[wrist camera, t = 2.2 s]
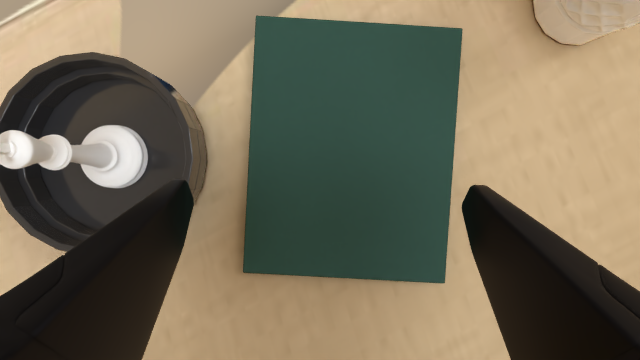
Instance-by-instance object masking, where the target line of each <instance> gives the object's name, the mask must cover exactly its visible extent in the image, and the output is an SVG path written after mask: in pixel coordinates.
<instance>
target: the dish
mask: <svg viewBox="0 0 640 360" xmlns="http://www.w3.org/2000/svg"><path fill="white" fill-rule="evenodd" d="M105 125H120V126H125V127H127V128H130V129H132V130H133V131H135V132H136V133H137V134H138V135H139V136H140V137H141V138H142V140H143V141H144V143H145V145H146V148H147V153H148V162H147V166H146V169H145V171H144V173H143V175H142V176H141V177H140V178H139V180H137V181H136V182H135V183H133V184H132V185H130V186H127V187H124V188H109V187H103V186H100V185H98V184H96V183H94V182H93V181H91V180H90V179H89V178H88V177H87V176H86V174H85V173H84V171H83V169H82V167H81V164H79V163H74V162H70V163H69V164H68V165H67V166H66V167H64V168H63V169H60V170H49V169H47V168H44V167H42V166H41V165H39V164H38V163H35V164H32V165H30V166H27V167H24V168H20V169H10V168H7V167H4V166H3V165H0V198H1V200H2V202H3V204H4V206H5V208H6V210H7V211H8V213H9V214H10V215H11V216H12V217H13V218H14V219H15V220H16V221H17V222H18V223H19V224H20V225H21V226H22V227H23V228H24V229H25V230H26V231H27V232H28V233H29V234H30V235H31V236H33V237H35V238H37V239H39V240H41V241H43V242H44V243H46V244H48V245H50V246H52V247H54V248H55V249H58V250H62V251H67V252H68V251H69V250H71V249H72V248H74V247H75V246H76V245H78V244H79V243H81V242H82V241H84V240H85V239H87V238H88V237H89V236H91V235H92V234H94V233H95V232H97V231H98V230H99V229H101V228H102V227H104V226H105V225H107V224H108V223H110V222H111V221H112V220H114V219H115V218H117V217H118V216H120V215H121V214H122V213H124V212H125V211H127V210H128V209H130V208H131V207H133V206H134V205H135V204H137V203H138V202H140V201H141V200H143V199H144V198H145V197H147V196H148V195H150V194H151V193H153V192H154V191H155V190H157V189H158V188H160V187H161V186H163V185H164V184H166V183H167V182H168V181H170V180H172V179H185V180H186V181H187V182H188V184H189V187H190V190H191V193H192V196H193V199H194V201H195V199H196V198H197V196H198V194H199V192H200V190H201V188H202V185H203V180H204V174H205V169H206V164H207V157H206V149H205V142H204V134H203V130H202V128H201V126H200V124H199V122H198V120H197V118H196V116H195V113H194V111H193V109H192V107H191V106H190V105H189V104H188V103H187V102H186V100H185V99H184V98H183V97H182V96H181V95H180V94H179V93H178V92H177V91H176V90H175V89H174V88H173V86H171V85H170V84H168V83H167V82H165V81H163V80H162V79H160V78H158V77H157V76H155V75H153V74H151V73H150V72H148V71H146V70H144V69H143V68H141V67H139V66H137V65H135V64H133V63H132V62H130V61H128V60H127V59H124V58H119V57H114V56H110V55H105V54H100V53H95V52H90V53H81V54H73V55H64V56H59V57H57V58H55V59H53V60H50V61H48V62H46V63H44V64H42V65H40V66H38V67H35V68H33V69H32V70H30V71H29V72H28V73H27V74H26V75H25V76H24V77H23V78H22V79H21V80H20V81H19V82H18V83H17V84H16V85H15V86H13V87H12V88H11V89H10V90H9V92H8V93H7V95H6V97H5V99H4V101H3V102H2V104H1V106H0V134H1V133H3V132H5V131H9V130H17V131H21V132H24V133H26V134H28V135H30V136H32V137H34V138H36V139H40V138H42V137H44V136H47V135H60V136H62V137H64V138H65V139H67V140H68V142H69V143H70V145H81V144H82V142H83V140H84V139H85V137H86V136H87V135H88V134H89V133H90V132H91V131H93V130H94V129H96V128H98V127H101V126H105Z"/></svg>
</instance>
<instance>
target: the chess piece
mask: <svg viewBox="0 0 640 360" xmlns="http://www.w3.org/2000/svg"><path fill="white" fill-rule="evenodd" d="M70 162H74V163H79V164H81V167H82V169H83V171H84V173H85V174H86V176H87V177H88V178H89V179H90V180H91V181H93V182H94V183H96V184H98V185H100V186H103V187H109V188H124V187H127V186H130V185H132V184H133V183H135V182H136V181H137V180H139V178H140V177H141V176H142V175H143V173H144V171H145V169H146V166H147V162H148V153H147V148H146V145H145V143H144V141H143V140H142V138H141V137H140V136H139V135H138V134H137V133H136V132H135V131H133V130H132V129H130V128H127V127H125V126H120V125H105V126H101V127H98V128H96V129H94V130H93V131H91V132H90V133H89V134H88V135H87V136H86V137H85V139H84V140H83V142H82V144H81V145H70V143H69V142H68V140H67V139H65V138H64V137H62V136H60V135H47V136H44V137H42V138H40V139H36V138H34V137H32V136H30V135H28V134H26V133H24V132H21V131H17V130H9V131H5V132H3V133H1V134H0V165H3V166H4V167H7V168H10V169H20V168H24V167H27V166H30V165H32V164H35V163H38V164H39V165H41V166H42V167H44V168H47V169H49V170H60V169H63V168H64V167H66V166H67V165H68V164H69V163H70Z"/></svg>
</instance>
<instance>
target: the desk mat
mask: <svg viewBox="0 0 640 360" xmlns="http://www.w3.org/2000/svg"><path fill="white" fill-rule="evenodd" d="M461 41H462V29H461V28H445V27H429V26H413V25H398V24H382V23H366V22H350V21H334V20H318V19H302V18H286V17H270V16H256V26H255V45H254V65H253V85H252V105H251V125H250V145H249V165H248V185H247V205H246V224H245V244H244V264H243V272H244V273H260V274H279V275H298V276H317V277H335V278H354V279H373V280H391V281H410V282H429V283H445V270H446V256H447V241H448V227H449V213H450V198H451V184H452V170H453V156H454V141H455V127H456V113H457V99H458V84H459V70H460V56H461Z"/></svg>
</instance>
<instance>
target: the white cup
mask: <svg viewBox="0 0 640 360" xmlns="http://www.w3.org/2000/svg"><path fill="white" fill-rule="evenodd" d="M533 4H534V12H535V18H536V20H537V21H538V23H539V25H540V26H541V28H542V29H543V31H544V32H545V34H547V35H548V36H550V37H551V38H553V39H555V40H556V41H558V42H560V43H562V44H572V45H583V44H585V43H588V42H590V41H593V40H596V39H598V38H601V37H603V36H606V35H608V34H610V33H612V32H615V31H618V30H623V29H627V28H629V27H632V26H634V25H636V24H639V23H640V0H533Z"/></svg>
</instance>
